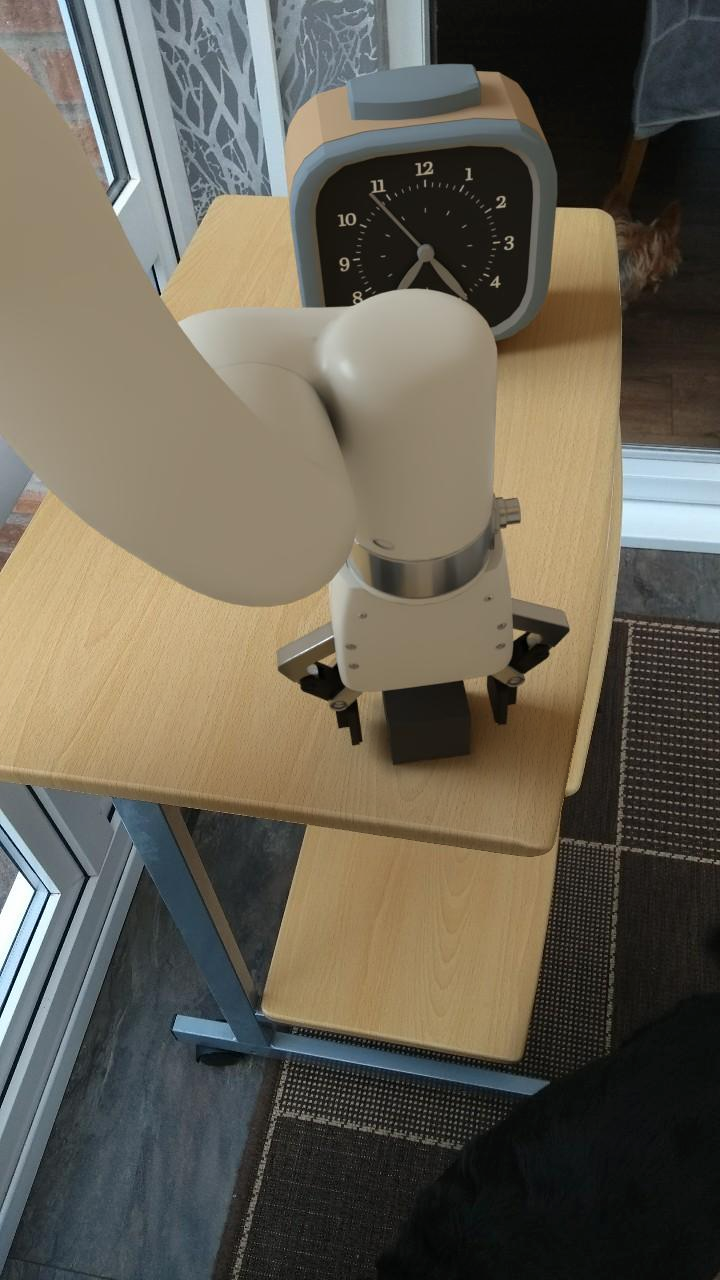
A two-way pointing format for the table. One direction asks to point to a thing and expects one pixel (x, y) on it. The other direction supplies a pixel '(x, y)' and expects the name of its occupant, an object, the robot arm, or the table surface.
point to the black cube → (427, 722)
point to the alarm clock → (423, 192)
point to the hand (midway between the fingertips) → (425, 716)
